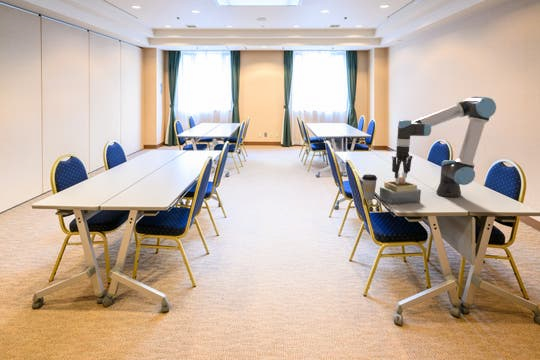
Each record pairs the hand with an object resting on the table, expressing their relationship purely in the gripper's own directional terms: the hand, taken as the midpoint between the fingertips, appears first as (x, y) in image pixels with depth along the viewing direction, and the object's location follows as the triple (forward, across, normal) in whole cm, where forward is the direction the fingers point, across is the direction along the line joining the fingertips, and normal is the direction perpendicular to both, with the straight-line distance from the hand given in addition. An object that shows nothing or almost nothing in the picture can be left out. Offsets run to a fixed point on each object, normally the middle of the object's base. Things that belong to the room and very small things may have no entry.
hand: (400, 183), depth 270 cm
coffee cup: (+12, +16, -10) cm, 22 cm away
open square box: (+11, 0, 0) cm, 11 cm away
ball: (0, 0, 0) cm, 0 cm away
